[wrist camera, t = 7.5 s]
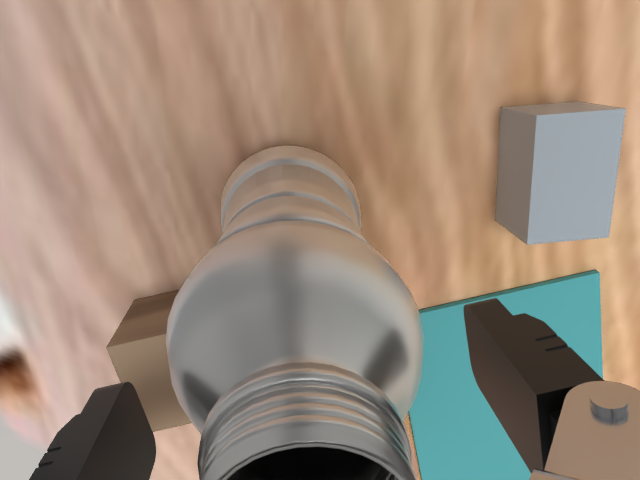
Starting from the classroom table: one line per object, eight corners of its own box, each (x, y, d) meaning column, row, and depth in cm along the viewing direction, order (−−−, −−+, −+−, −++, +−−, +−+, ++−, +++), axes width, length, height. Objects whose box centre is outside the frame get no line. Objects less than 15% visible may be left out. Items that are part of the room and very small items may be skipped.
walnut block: (134, 299, 28) (106, 347, 24) (224, 278, 28) (213, 322, 24) (163, 375, 30) (142, 434, 25) (248, 355, 30) (242, 411, 25)
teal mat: (390, 316, 30) (391, 320, 29) (595, 269, 30) (599, 272, 29) (425, 499, 34) (426, 504, 34) (601, 459, 34) (605, 463, 34)
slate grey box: (499, 107, 26) (536, 115, 22) (576, 101, 26) (625, 108, 23) (494, 219, 28) (527, 244, 25) (565, 213, 28) (608, 237, 25)
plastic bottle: (302, 281, 28) (346, 718, 10) (199, 208, 27) (8, 570, 8) (379, 191, 27) (604, 497, 8) (276, 108, 25) (264, 257, 6)
